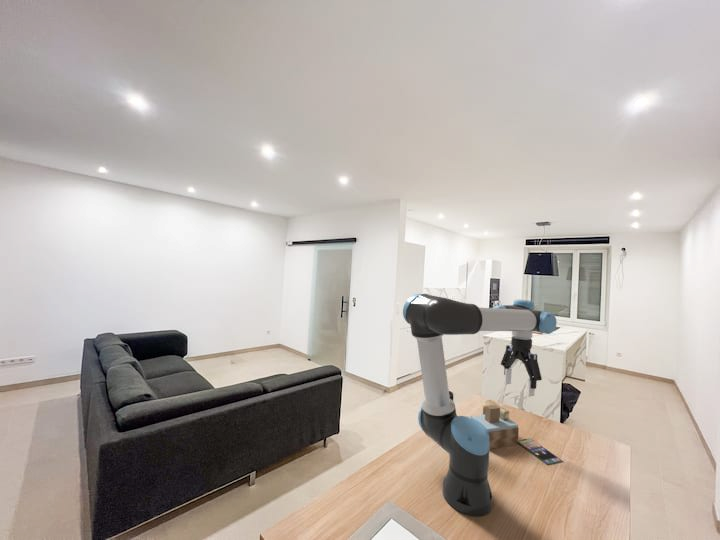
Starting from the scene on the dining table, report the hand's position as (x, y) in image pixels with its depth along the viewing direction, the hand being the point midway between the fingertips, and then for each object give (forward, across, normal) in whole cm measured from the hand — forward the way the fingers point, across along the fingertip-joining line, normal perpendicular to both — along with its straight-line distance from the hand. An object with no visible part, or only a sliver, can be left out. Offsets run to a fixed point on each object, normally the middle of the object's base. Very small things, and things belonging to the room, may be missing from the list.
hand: (518, 389), depth 125 cm
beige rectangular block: (+15, +11, 0) cm, 19 cm away
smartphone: (+25, -5, -7) cm, 26 cm away
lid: (+17, +7, +6) cm, 19 cm away
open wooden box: (+24, +9, +5) cm, 26 cm away
